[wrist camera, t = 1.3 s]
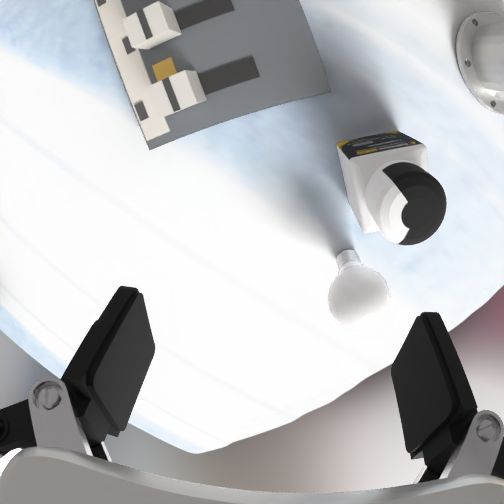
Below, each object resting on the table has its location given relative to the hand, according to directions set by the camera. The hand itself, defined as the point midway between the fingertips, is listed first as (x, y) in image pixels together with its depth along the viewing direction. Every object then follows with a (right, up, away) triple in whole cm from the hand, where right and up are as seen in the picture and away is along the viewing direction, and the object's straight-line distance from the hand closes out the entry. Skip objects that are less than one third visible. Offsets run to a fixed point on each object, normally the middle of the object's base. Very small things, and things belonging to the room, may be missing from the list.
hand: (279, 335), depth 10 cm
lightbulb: (+10, +2, +26) cm, 28 cm away
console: (-6, +25, +14) cm, 29 cm away
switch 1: (-9, +23, +12) cm, 27 cm away
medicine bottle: (+12, +12, +21) cm, 27 cm away
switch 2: (-7, +17, +15) cm, 24 cm away
